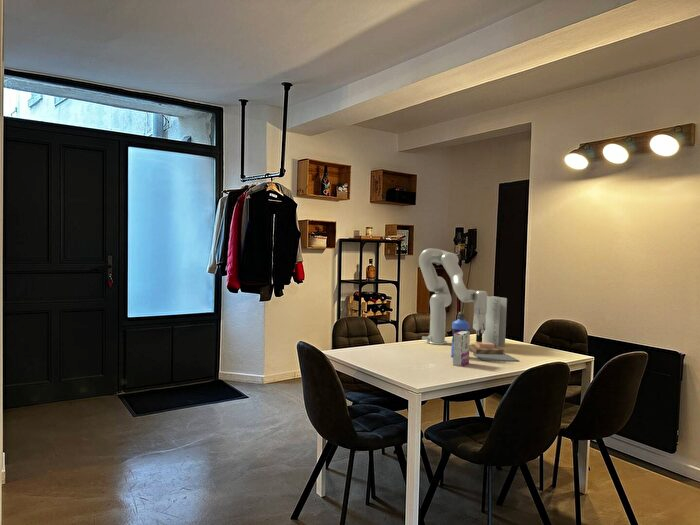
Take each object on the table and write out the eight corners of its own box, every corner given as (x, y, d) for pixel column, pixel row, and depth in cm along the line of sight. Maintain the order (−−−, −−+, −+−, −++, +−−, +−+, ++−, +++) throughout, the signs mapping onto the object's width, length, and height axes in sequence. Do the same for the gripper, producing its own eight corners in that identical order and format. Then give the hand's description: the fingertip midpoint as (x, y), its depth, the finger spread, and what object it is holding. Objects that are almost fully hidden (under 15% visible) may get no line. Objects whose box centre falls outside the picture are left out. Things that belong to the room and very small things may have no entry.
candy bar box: (460, 361, 277) (461, 330, 277) (469, 363, 274) (470, 331, 274) (452, 365, 268) (453, 333, 267) (461, 366, 265) (463, 334, 265)
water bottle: (447, 356, 289) (449, 311, 289) (456, 354, 296) (458, 310, 295) (462, 359, 283) (464, 313, 282) (471, 357, 290) (473, 312, 289)
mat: (482, 360, 282) (483, 359, 282) (473, 354, 297) (473, 353, 297) (519, 361, 284) (519, 360, 284) (507, 355, 299) (507, 354, 299)
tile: (479, 347, 303) (479, 344, 303) (475, 345, 310) (475, 341, 310) (494, 348, 304) (494, 344, 304) (490, 345, 311) (490, 342, 311)
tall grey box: (483, 342, 341) (485, 296, 340) (489, 342, 343) (491, 296, 343) (497, 346, 328) (500, 298, 328) (504, 346, 331) (507, 298, 330)
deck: (476, 354, 298) (476, 349, 298) (468, 350, 311) (468, 345, 311) (503, 355, 300) (503, 349, 300) (494, 350, 313) (495, 345, 313)
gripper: (470, 309, 324) (468, 339, 324) (478, 312, 309) (477, 344, 309) (481, 310, 325) (480, 339, 325) (490, 313, 310) (489, 344, 310)
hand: (479, 341), depth 317 cm, fingers closed
